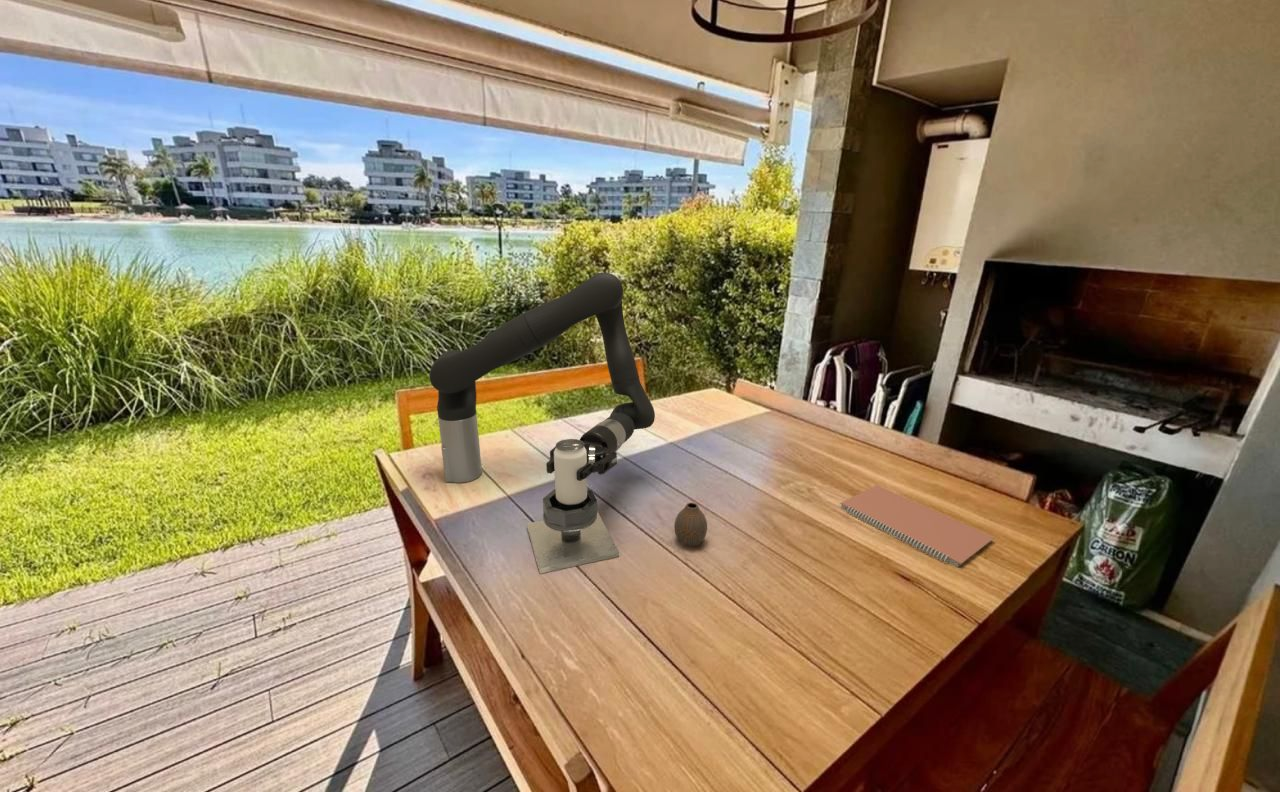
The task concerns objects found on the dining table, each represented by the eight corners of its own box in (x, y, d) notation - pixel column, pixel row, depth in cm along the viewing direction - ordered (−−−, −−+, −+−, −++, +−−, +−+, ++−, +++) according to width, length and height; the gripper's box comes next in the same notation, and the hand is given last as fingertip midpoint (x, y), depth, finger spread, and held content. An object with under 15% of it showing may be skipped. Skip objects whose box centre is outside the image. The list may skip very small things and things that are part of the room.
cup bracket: (540, 573, 96) (537, 528, 92) (527, 528, 110) (524, 487, 106) (618, 556, 101) (619, 512, 98) (597, 515, 115) (596, 475, 112)
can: (583, 507, 99) (581, 453, 95) (551, 504, 100) (548, 450, 96) (590, 490, 105) (589, 439, 101) (561, 488, 106) (558, 436, 102)
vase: (708, 535, 109) (711, 500, 106) (702, 553, 102) (704, 517, 100) (678, 528, 111) (680, 494, 108) (669, 546, 105) (671, 510, 102)
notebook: (836, 510, 120) (838, 503, 119) (875, 490, 129) (876, 484, 129) (956, 572, 99) (958, 564, 99) (992, 544, 108) (994, 536, 108)
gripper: (575, 419, 114) (531, 448, 99) (632, 430, 108) (594, 463, 94) (576, 449, 116) (533, 481, 102) (632, 461, 111) (595, 497, 96)
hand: (563, 472), depth 98 cm, fingers closed on can, 6 cm apart
